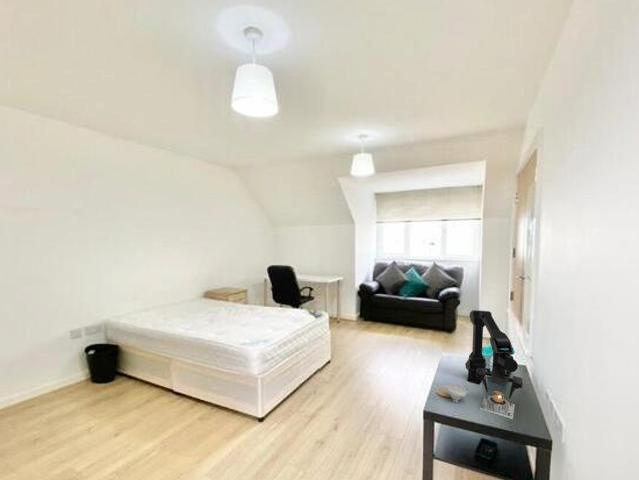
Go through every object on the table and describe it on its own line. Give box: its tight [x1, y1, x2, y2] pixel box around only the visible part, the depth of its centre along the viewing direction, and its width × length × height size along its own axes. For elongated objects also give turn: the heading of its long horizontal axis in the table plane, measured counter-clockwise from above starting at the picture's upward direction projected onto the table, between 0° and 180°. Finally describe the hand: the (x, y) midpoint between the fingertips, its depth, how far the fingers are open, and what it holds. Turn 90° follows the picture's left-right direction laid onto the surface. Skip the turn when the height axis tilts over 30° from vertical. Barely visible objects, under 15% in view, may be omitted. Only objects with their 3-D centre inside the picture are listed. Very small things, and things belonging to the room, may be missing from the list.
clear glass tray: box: [479, 395, 516, 420], centre depth 151 cm, size 13×13×3 cm
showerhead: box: [445, 383, 468, 403], centre depth 155 cm, size 9×7×10 cm
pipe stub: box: [491, 390, 505, 405], centre depth 150 cm, size 4×4×6 cm
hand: (498, 395), depth 150 cm, fingers open, 9 cm apart
